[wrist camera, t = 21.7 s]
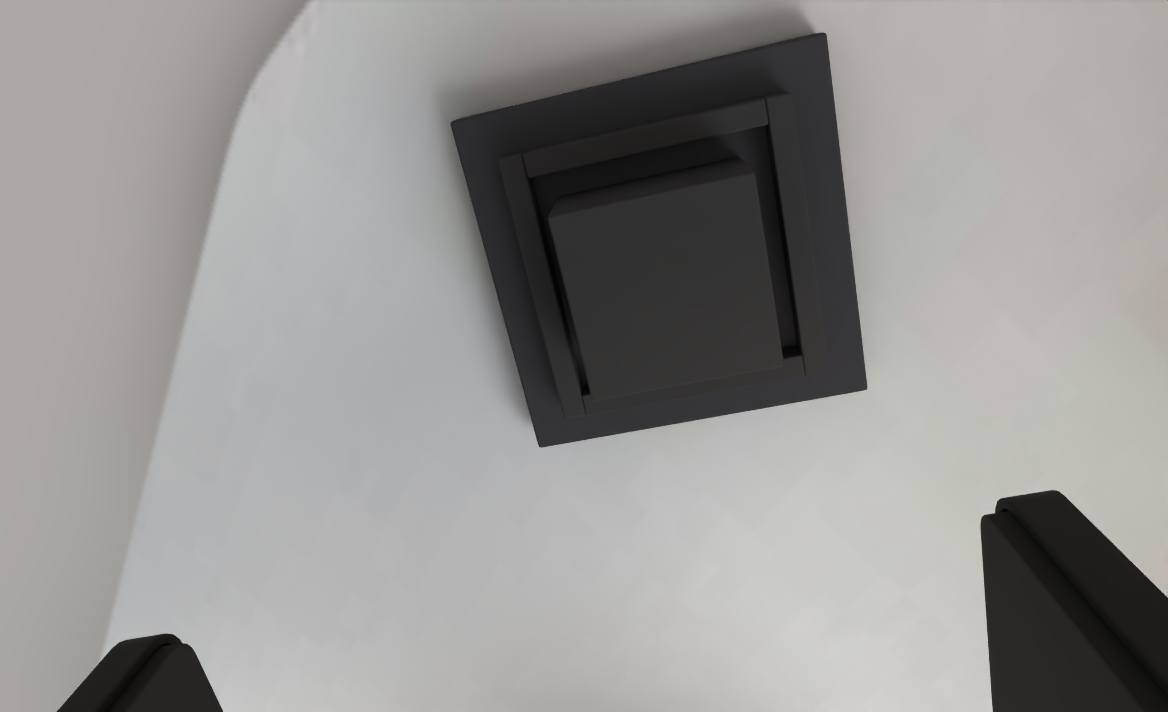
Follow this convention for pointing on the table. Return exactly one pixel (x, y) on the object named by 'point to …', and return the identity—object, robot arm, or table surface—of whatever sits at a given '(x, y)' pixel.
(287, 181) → the table surface
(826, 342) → the base pad
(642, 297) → the small pad
